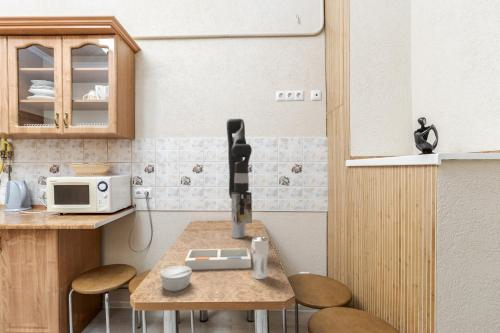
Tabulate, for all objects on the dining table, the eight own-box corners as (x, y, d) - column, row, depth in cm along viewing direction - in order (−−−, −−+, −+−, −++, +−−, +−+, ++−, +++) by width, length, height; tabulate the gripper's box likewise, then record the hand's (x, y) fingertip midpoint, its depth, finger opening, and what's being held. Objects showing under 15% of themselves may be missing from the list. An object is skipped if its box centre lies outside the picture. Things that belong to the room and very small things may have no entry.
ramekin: (183, 294, 85) (183, 278, 85) (153, 291, 87) (154, 276, 87) (196, 280, 96) (196, 266, 96) (169, 277, 98) (169, 264, 98)
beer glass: (250, 273, 102) (250, 236, 103) (267, 272, 103) (267, 236, 103) (252, 280, 95) (252, 241, 96) (269, 279, 96) (270, 241, 96)
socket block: (190, 257, 119) (190, 249, 120) (248, 256, 122) (248, 247, 122) (184, 270, 105) (184, 259, 105) (250, 267, 108) (251, 258, 108)
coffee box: (246, 220, 134) (246, 191, 134) (252, 223, 128) (252, 192, 128) (231, 222, 130) (231, 192, 130) (236, 225, 124) (236, 193, 124)
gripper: (233, 181, 136) (233, 210, 136) (234, 182, 121) (234, 215, 121) (247, 181, 136) (247, 210, 136) (249, 182, 122) (249, 215, 122)
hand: (241, 213), depth 129 cm, fingers closed on coffee box, 8 cm apart
